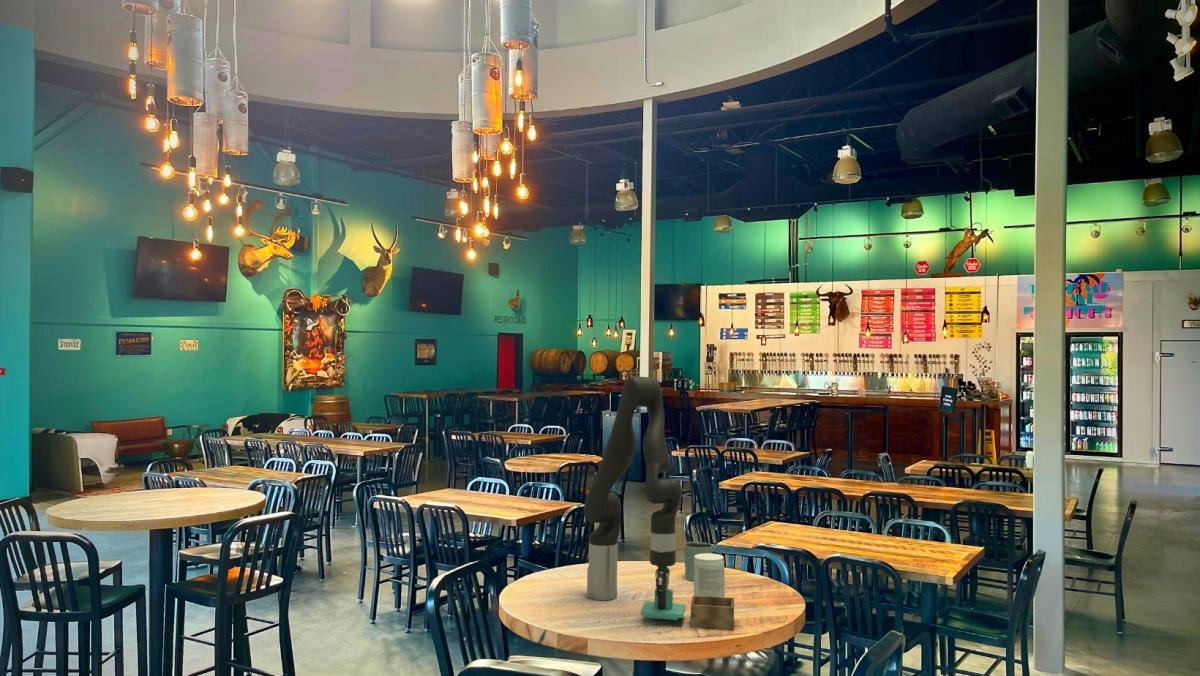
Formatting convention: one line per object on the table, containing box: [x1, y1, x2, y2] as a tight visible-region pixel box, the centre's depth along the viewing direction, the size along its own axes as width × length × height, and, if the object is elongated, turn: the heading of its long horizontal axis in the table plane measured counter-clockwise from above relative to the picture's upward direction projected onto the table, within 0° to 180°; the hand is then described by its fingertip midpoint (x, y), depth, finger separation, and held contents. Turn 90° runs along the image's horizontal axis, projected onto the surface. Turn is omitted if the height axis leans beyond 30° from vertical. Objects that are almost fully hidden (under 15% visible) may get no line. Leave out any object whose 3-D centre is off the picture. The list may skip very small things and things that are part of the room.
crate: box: [690, 594, 735, 631], centre depth 238 cm, size 12×10×7 cm
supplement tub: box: [693, 553, 726, 597], centre depth 260 cm, size 10×10×15 cm
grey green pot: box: [683, 541, 714, 582], centre depth 290 cm, size 10×10×12 cm
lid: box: [640, 588, 686, 621], centre depth 240 cm, size 12×10×7 cm
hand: (662, 607), depth 240 cm, fingers closed on lid, 3 cm apart
